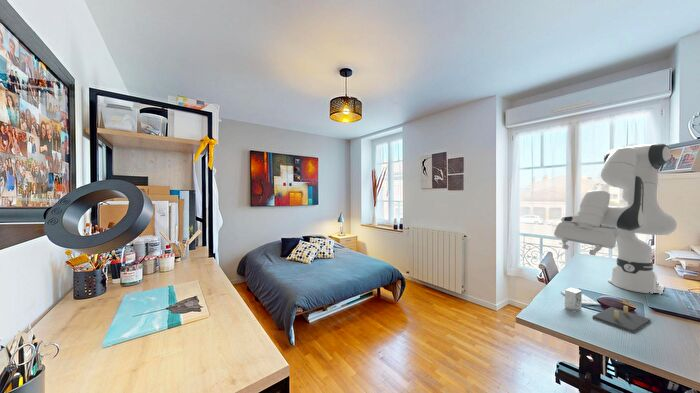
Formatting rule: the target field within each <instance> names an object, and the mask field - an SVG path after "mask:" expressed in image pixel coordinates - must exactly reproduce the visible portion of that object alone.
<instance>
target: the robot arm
mask: <svg viewBox="0 0 700 393" xmlns="http://www.w3.org/2000/svg"><path fill="white" fill-rule="evenodd" d="M670 158H671V149H670V147H669V146H668V145H667V144H666V143H652V144H637V145H635V144H634V145H633V146H632V145H631V146H624V147H618V148H614V149H613V148H612V149H610V150H608V151H607V152H606V153H605V154H604V158H603V162H604V164H603V166H602V169H601V171H600V172H601V173H600V177H601V179H602V181H603V182H604V183H606V184H607V185H609V186H611V187H614V188H617V189H621V190H622V199H623V201H624V202H626V203H627V205H625V206H614V205H613V206H612V205H610V200H611V194H610V192H608V191H604V190H599V189H597V190H594V189H593V190H588V191H586V193H585V194H584V196H583V197H582V200H581V203H580V205H579V211H578V212H577V214H576V215H569V216H563V217H562V218H561V219H560V220H561V222H559V223H558V224H557V226H556V227H555V229H554V232H553V235H554V236H555V237H556V239H559V240H561V242H562V249H563V250H569V247H570V246H569V245H568V244H567V243H568V241H569V242H573V243H575V242H576V243H580V244H585V245H591V246H595V247H594V248H593V249H589V255H590V256H596V254H597V253H598V252H599V251H601V250H602V248H606V249H613V248H616V246H617V258H616V266H613V268H612V272H611V278H609V279H607V282H608V283H610V284H613V286H616V287H617V288H620V289H623V290H627V291H630V292H636V293H643V294H653V293H661V294H662V293H663V294H664V292H663V290H664V291H665V285H663V284H662V283H659V282H658V275H657V274H656V272H655V271H654V261H652V252H653V251H652V247H651V246H650V245H649V244H648V243H647V242H645V241H644V240H641V239H640V238H638V237H637V236H636V234H640V235H642V234H643V235H651V236H666V235H667V236H668V235H671V234H672V233H673V232H675V231H676V229H677V221H676V219H675V218H674V217H673V216H672V215H671V214H669V213H667V212H665V210H663V209H662V208H661V206H660V205H659V203H658V200H657V198H658V197H657V196H658V194H657V192H658V186H659V184H658V183H659V175H658V170H659V169H660V168H661V167H662V166H665V164H667V163H668V162H669V161H670ZM616 244H617V245H616ZM649 292H651V293H649ZM661 294H660V295H661Z"/></svg>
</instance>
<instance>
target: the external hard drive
mask: <svg viewBox="0 0 700 393" xmlns="http://www.w3.org/2000/svg"><path fill="white" fill-rule="evenodd" d="M560 294H562V295H563V296H565V290H563V291H562V290H561V291H560ZM581 304H587V305H588V306H590V305H601V303H599V302H597V301H595V300H593V298H590V297H588V296H587V295H586V294H584V293H582V300H581ZM587 305H586V306H587Z"/></svg>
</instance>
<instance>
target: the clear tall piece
mask: <svg viewBox="0 0 700 393" xmlns="http://www.w3.org/2000/svg"><path fill="white" fill-rule="evenodd" d="M564 291H565V295H564V308H565V309H566V310H569V311H572V312H574V311H576V312H577V310H578V311H580V309H581V310H582V305H581V300H582V294H583V293H582V292H583V291H582V290H580V289H578V288H577V289H576V288H573V287H569V288H566V289H565V290H564Z"/></svg>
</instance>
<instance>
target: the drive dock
mask: <svg viewBox="0 0 700 393" xmlns="http://www.w3.org/2000/svg"><path fill="white" fill-rule="evenodd" d="M592 319H593V320H596V321H598V320H599V322H601V321H602V323H603V324H604V323H605V324H607V325H610V326H612V327H615V328H619V329H622V330H623V331H626V332H627V331H628V332H629V333H633V334H634V333H635V332H637V331H638V330H640V329H642V328H644V327H645V326H646V325H648V324H649V323H650V322H652V320H651V318H649V317H646V316H642V315H638V314H636V313H632V312H629V306H627V305H623V310H622V309H619V308H616V307H613V306H610V307H608V308H606V309H604V310H602V311H600V312H598V313H596V314H594V315H592Z"/></svg>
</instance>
